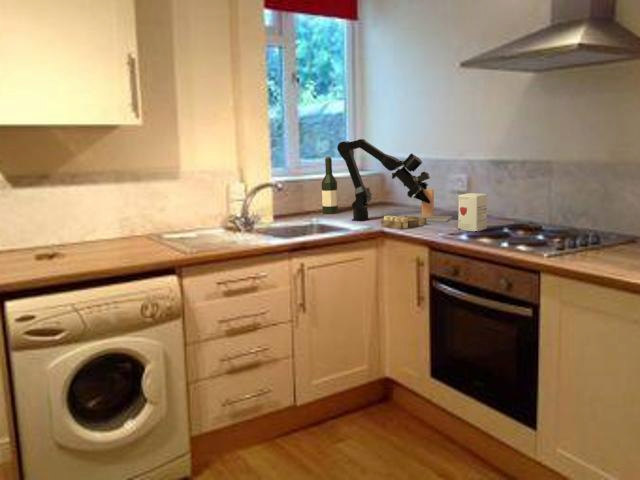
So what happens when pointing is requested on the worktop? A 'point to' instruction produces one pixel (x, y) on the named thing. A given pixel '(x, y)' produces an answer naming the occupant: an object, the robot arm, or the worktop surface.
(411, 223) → the walnut rack
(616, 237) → the worktop surface
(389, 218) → the ash offcut
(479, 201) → the supplement box
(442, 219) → the slate tile
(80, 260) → the worktop surface
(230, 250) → the worktop surface
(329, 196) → the wine bottle
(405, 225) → the oak offcut
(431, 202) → the orange rectangular block
